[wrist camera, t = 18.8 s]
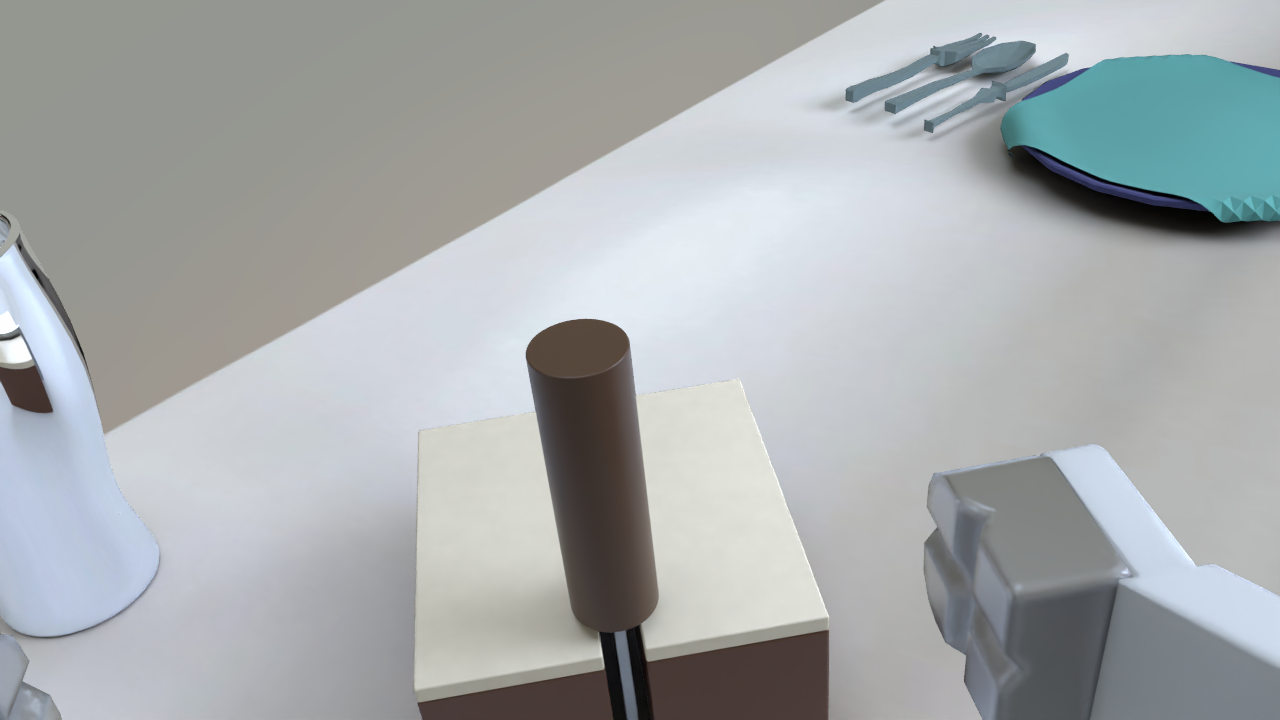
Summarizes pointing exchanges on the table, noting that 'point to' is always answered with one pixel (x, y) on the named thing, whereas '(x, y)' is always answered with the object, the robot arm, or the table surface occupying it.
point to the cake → (685, 566)
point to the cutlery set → (1131, 123)
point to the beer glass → (56, 468)
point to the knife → (596, 479)
